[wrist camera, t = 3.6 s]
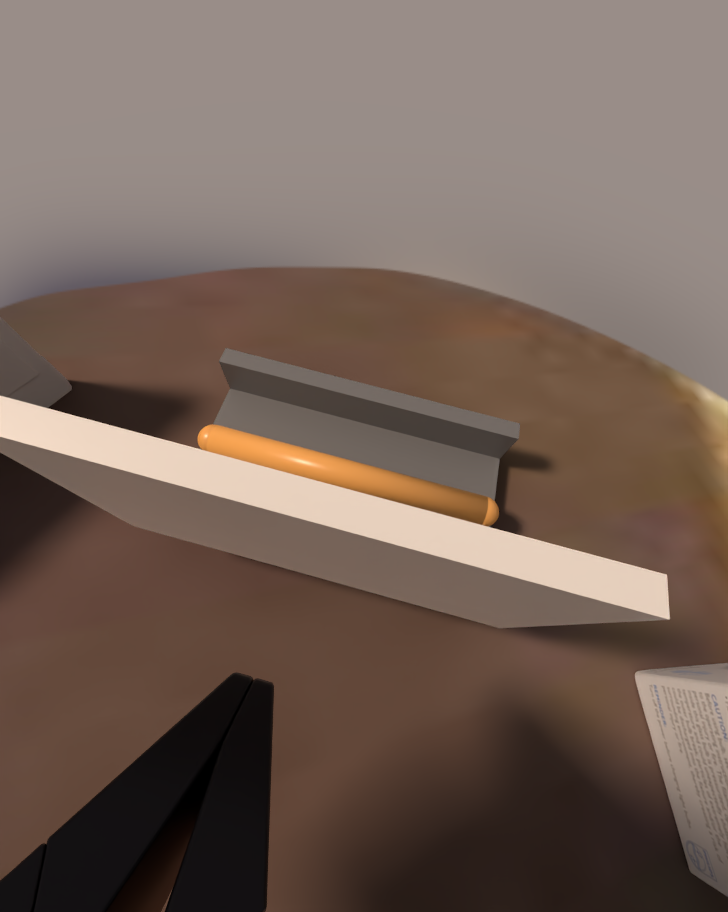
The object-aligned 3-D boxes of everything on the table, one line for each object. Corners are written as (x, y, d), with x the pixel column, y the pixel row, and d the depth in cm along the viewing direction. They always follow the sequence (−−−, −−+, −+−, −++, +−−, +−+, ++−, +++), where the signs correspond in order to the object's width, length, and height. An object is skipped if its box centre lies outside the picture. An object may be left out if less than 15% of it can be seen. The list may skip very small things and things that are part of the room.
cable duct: (474, 610, 18) (501, 605, 15) (172, 526, 18) (144, 506, 15) (495, 451, 21) (520, 423, 18) (239, 384, 21) (225, 348, 19)
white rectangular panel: (502, 605, 15) (499, 628, 14) (143, 506, 15) (132, 526, 15) (666, 574, 7) (670, 619, 7) (-30, 387, 8) (-57, 421, 8)
